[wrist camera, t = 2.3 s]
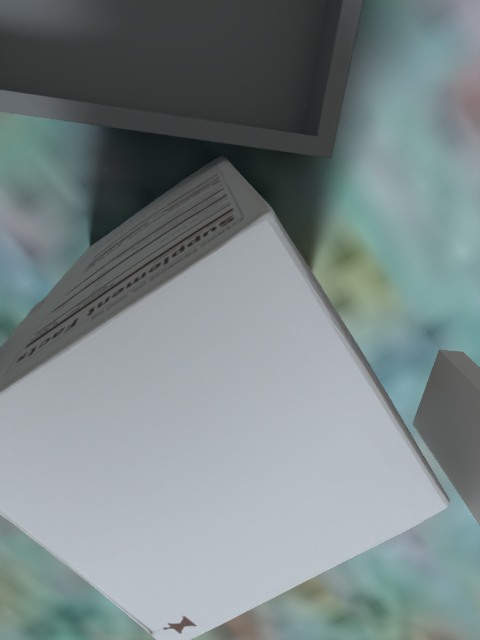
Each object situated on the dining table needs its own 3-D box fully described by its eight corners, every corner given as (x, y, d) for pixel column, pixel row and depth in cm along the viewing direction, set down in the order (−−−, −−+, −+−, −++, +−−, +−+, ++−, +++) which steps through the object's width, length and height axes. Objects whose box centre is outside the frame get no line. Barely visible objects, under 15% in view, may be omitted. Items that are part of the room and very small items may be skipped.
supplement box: (311, 290, 27) (468, 516, 11) (185, 369, 28) (174, 666, 13) (221, 146, 23) (274, 195, 8) (82, 246, 24) (-109, 455, 9)
